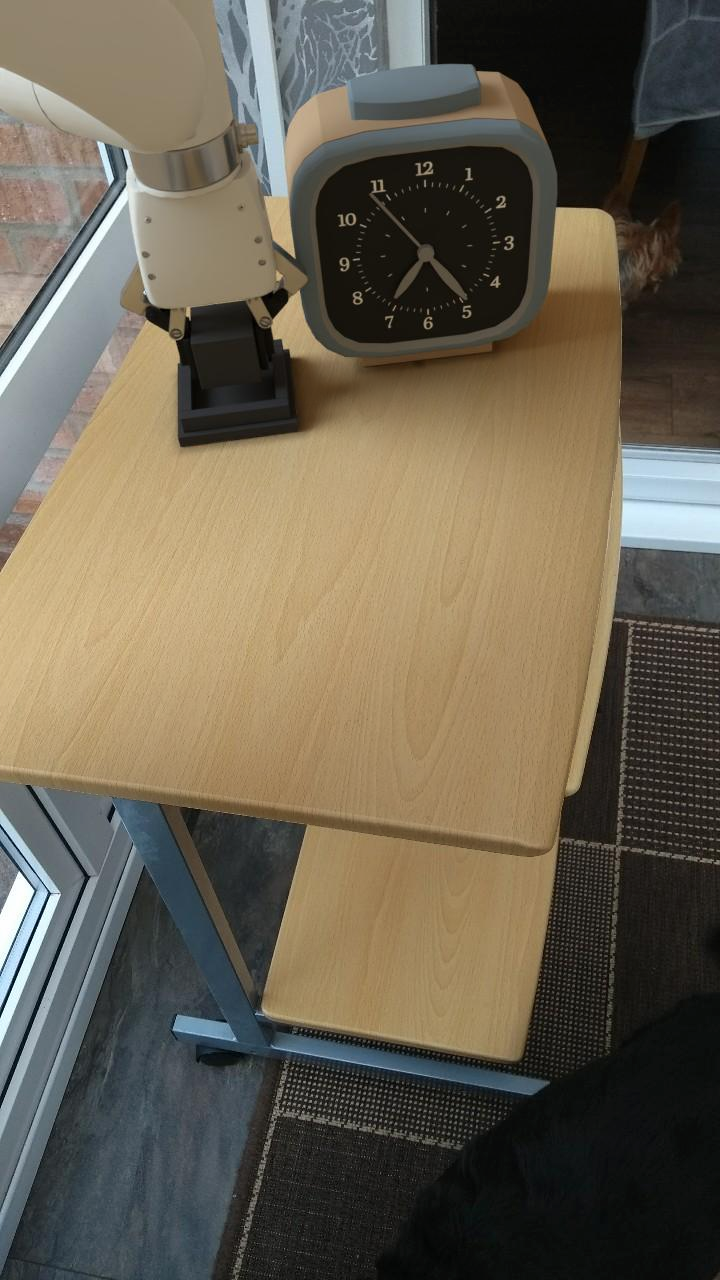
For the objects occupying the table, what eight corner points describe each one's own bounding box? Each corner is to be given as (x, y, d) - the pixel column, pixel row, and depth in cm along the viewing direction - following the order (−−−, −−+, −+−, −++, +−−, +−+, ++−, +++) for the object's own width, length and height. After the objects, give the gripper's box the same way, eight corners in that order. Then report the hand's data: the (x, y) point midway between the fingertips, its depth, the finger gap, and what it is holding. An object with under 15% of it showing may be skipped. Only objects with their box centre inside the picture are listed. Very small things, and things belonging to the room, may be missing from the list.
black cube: (202, 389, 84) (190, 344, 80) (200, 352, 87) (190, 306, 83) (262, 381, 84) (253, 335, 80) (259, 344, 87) (250, 298, 83)
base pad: (180, 447, 85) (173, 423, 83) (179, 372, 91) (173, 349, 89) (299, 431, 85) (295, 407, 83) (290, 357, 91) (287, 334, 89)
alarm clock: (312, 380, 89) (278, 133, 72) (305, 315, 95) (272, 72, 78) (545, 352, 89) (567, 98, 72) (524, 289, 95) (540, 40, 78)
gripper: (301, 109, 73) (327, 324, 88) (65, 140, 73) (130, 350, 87) (310, 161, 69) (336, 379, 83) (58, 195, 68) (128, 407, 83)
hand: (230, 362), depth 85 cm, fingers closed on black cube, 5 cm apart
